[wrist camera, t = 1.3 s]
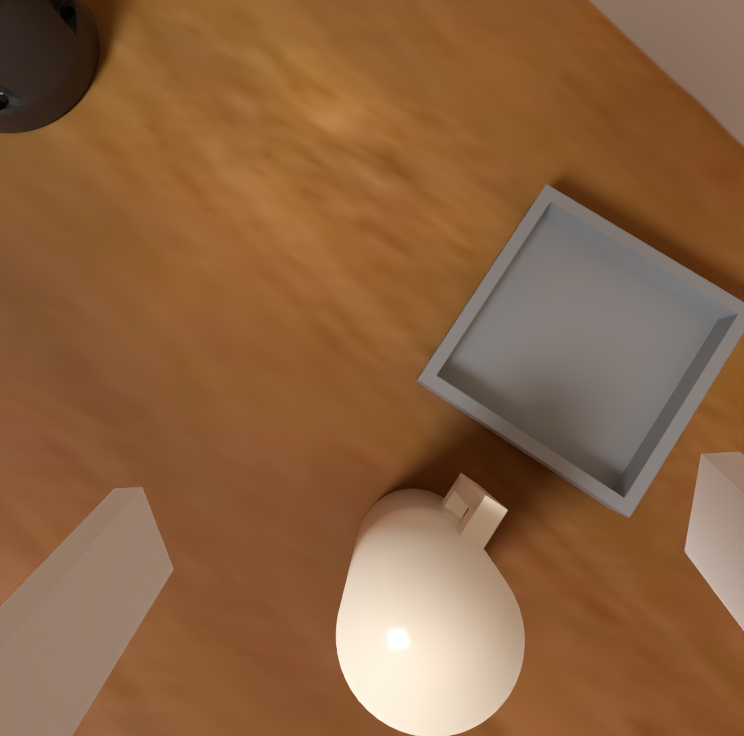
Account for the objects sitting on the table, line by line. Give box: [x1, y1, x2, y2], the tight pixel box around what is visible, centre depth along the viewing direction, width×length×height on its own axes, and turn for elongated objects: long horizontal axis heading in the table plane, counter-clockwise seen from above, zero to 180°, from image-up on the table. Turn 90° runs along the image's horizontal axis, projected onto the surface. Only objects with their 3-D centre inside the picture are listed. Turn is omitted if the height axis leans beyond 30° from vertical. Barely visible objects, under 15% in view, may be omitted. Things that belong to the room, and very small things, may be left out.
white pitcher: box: [336, 473, 525, 736], centre depth 29 cm, size 9×12×14 cm
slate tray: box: [415, 184, 744, 518], centre depth 35 cm, size 18×18×3 cm
